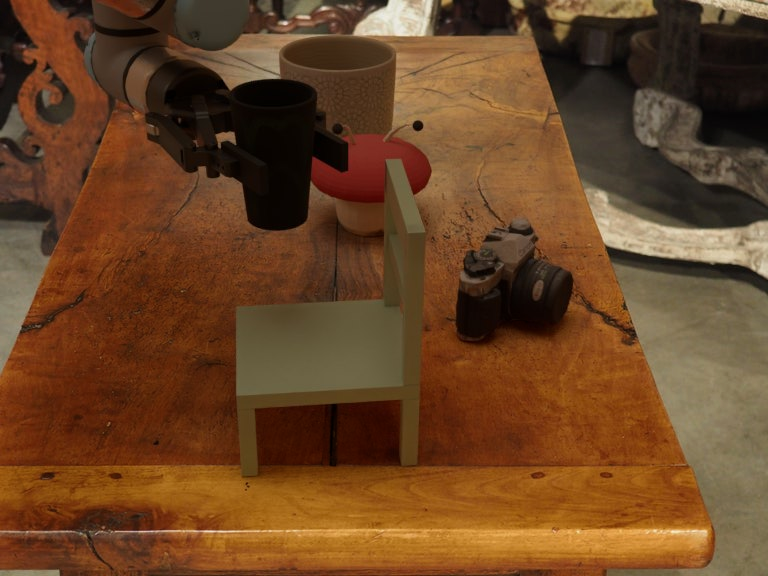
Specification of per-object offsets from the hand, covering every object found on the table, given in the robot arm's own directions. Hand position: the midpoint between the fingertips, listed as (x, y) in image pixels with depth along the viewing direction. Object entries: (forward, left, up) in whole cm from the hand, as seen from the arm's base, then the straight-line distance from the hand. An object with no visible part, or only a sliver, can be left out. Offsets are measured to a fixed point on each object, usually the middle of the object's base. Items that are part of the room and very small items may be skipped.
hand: (305, 168), depth 92 cm
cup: (-2, +4, -7) cm, 8 cm away
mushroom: (+10, +40, -26) cm, 49 cm away
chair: (+1, -2, -26) cm, 26 cm away
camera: (+24, +15, -26) cm, 39 cm away
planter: (+8, +65, -26) cm, 71 cm away
